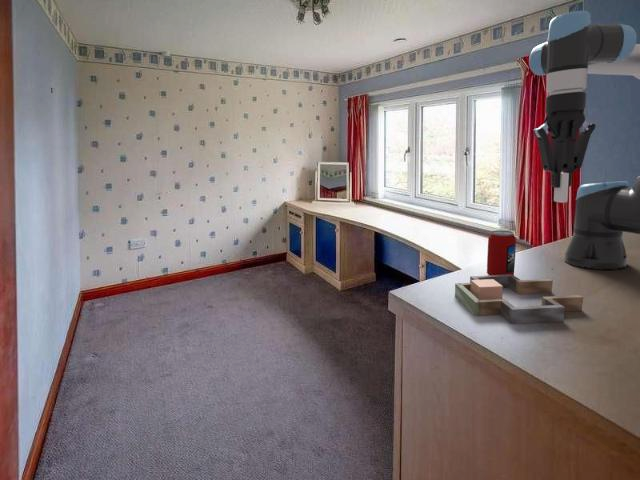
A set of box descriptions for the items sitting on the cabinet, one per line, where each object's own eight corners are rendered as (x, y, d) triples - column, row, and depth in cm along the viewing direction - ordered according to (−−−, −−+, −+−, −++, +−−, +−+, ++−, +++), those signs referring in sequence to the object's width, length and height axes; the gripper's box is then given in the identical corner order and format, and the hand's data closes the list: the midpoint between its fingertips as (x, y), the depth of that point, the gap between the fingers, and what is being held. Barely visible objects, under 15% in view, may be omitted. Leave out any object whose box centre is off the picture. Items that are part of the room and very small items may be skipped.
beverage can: (516, 280, 109) (519, 235, 106) (489, 279, 110) (491, 235, 108) (510, 272, 116) (513, 229, 113) (484, 272, 117) (486, 229, 114)
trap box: (538, 284, 105) (539, 273, 105) (597, 319, 84) (598, 305, 83) (448, 288, 105) (448, 277, 104) (484, 325, 83) (485, 311, 83)
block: (491, 299, 97) (492, 279, 96) (501, 307, 92) (502, 286, 91) (470, 300, 97) (471, 280, 96) (478, 309, 92) (479, 287, 91)
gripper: (583, 92, 95) (577, 197, 100) (526, 97, 94) (523, 201, 99) (607, 88, 87) (599, 201, 93) (546, 93, 87) (541, 206, 92)
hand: (560, 201), depth 96 cm, fingers closed
